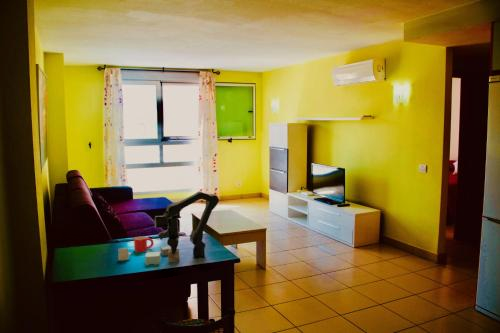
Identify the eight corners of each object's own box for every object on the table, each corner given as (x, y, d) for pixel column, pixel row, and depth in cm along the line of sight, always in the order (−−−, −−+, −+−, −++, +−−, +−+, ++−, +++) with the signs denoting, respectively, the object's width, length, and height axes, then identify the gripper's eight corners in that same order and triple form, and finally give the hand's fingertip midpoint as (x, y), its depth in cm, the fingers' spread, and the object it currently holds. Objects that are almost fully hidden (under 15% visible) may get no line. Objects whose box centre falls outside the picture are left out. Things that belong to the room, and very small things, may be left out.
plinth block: (160, 259, 232) (160, 251, 231) (159, 264, 224) (159, 255, 223) (146, 260, 230) (146, 252, 230) (145, 265, 223) (145, 257, 222)
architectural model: (119, 259, 234) (118, 247, 233) (131, 258, 236) (130, 246, 235) (118, 261, 231) (117, 249, 230) (130, 260, 232) (130, 248, 232)
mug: (154, 250, 249) (153, 238, 248) (134, 252, 245) (134, 240, 244) (153, 246, 256) (152, 235, 255) (134, 248, 253) (133, 237, 252)
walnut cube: (179, 258, 233) (179, 248, 233) (179, 261, 227) (178, 251, 227) (169, 258, 232) (168, 249, 232) (168, 262, 227) (168, 252, 226)
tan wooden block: (170, 251, 246) (170, 245, 246) (172, 254, 241) (172, 248, 240) (160, 253, 243) (160, 247, 243) (163, 256, 238) (162, 249, 238)
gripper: (160, 222, 236) (161, 247, 237) (157, 230, 217) (158, 257, 219) (178, 221, 237) (179, 246, 239) (177, 229, 219) (178, 256, 221)
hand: (174, 251), depth 229 cm, fingers open, 9 cm apart
